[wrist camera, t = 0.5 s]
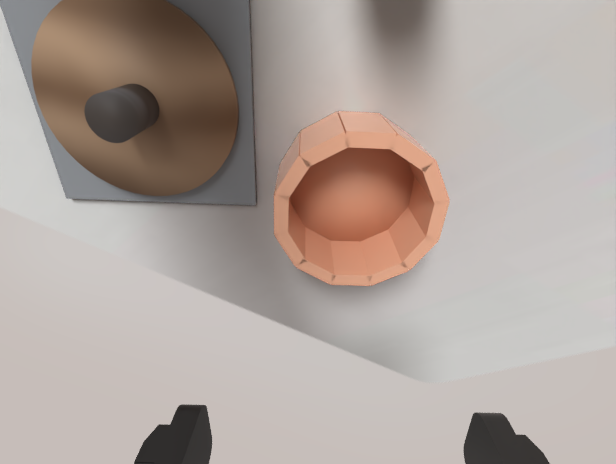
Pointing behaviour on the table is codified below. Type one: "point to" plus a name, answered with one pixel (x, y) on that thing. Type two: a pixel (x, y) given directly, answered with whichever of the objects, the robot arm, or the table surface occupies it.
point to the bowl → (357, 200)
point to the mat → (237, 53)
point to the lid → (135, 93)
